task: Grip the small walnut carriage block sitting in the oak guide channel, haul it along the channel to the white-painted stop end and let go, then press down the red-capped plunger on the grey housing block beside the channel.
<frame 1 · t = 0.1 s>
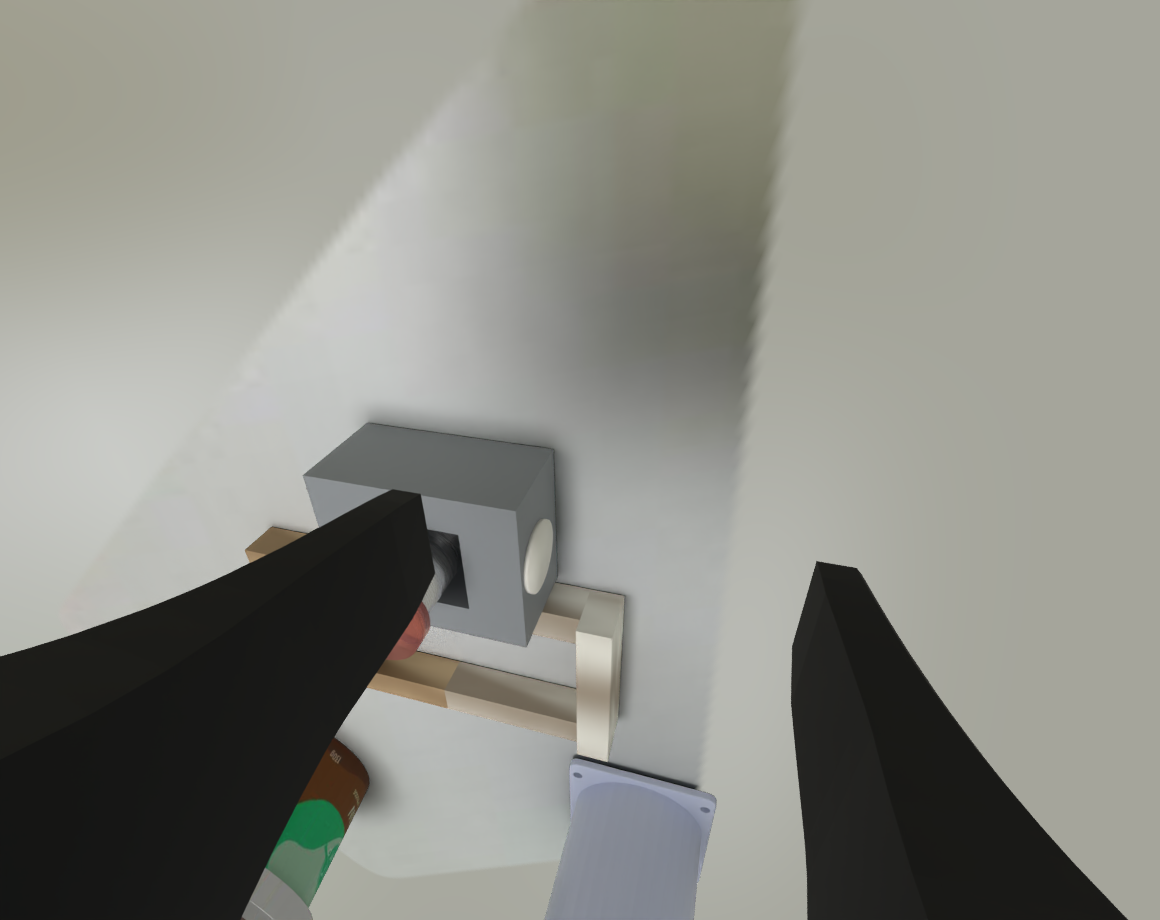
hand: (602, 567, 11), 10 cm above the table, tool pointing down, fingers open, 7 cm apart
plunger: (410, 575, 21), point 5 cm above the table, slide at 0.0 cm
channel: (410, 615, 30), on the table
grey housing block: (465, 502, 24), on the table
food container: (347, 769, 42), on the table
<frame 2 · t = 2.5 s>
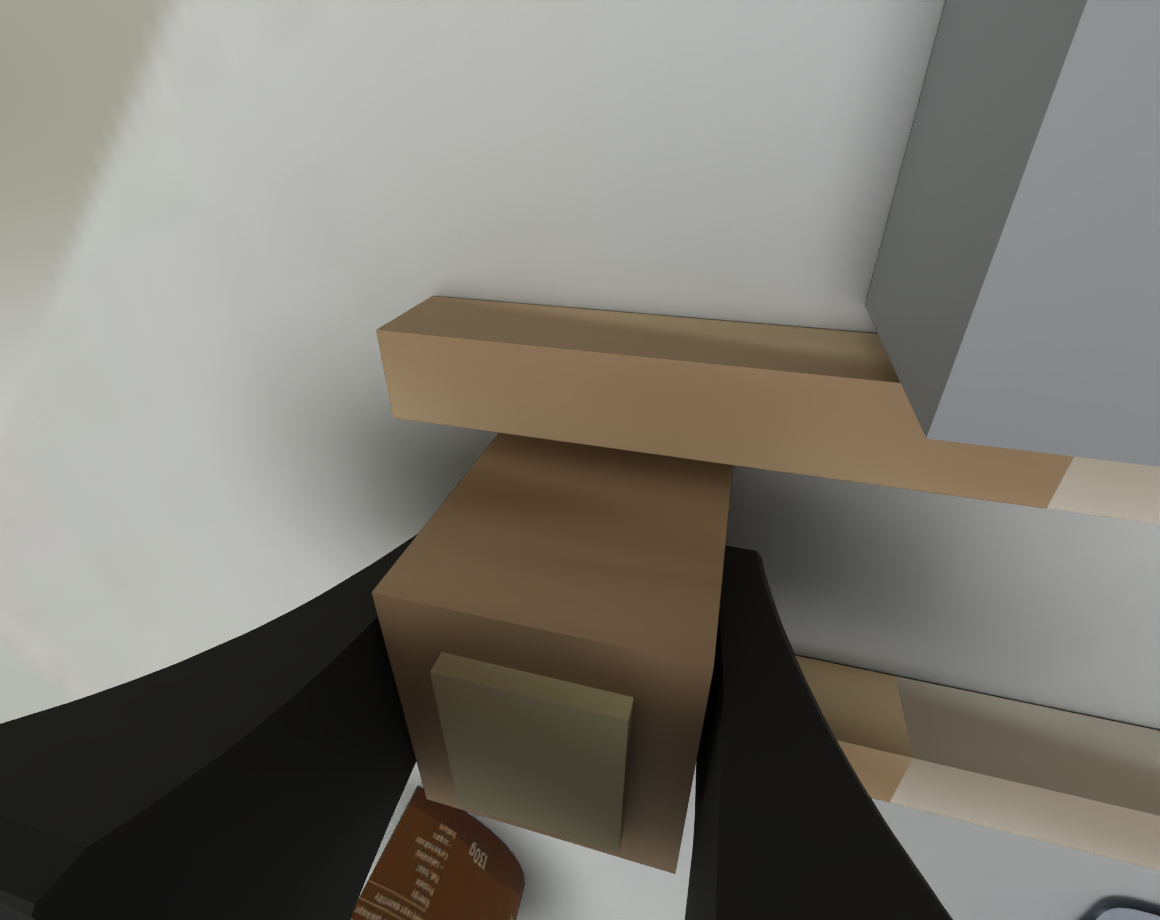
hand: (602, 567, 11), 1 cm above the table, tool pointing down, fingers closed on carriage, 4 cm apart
channel: (799, 551, 11), on the table
carriage: (618, 520, 12), resting in channel, touching gripper
food container: (480, 866, 23), on the table
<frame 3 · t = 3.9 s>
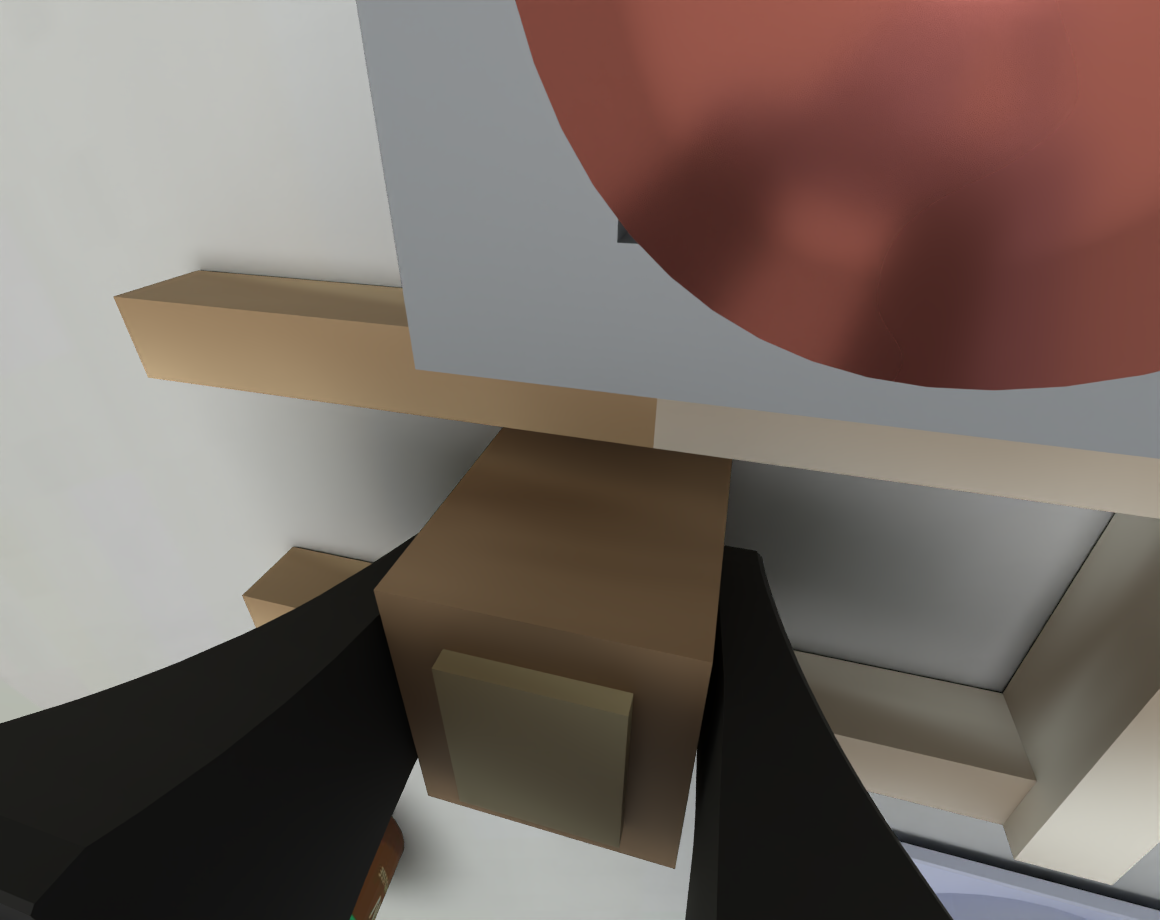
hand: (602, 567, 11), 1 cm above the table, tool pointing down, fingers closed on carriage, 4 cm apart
channel: (543, 503, 12), on the table
grey housing block: (839, 25, 7), on the table
carriage: (618, 519, 12), resting in channel, touching gripper
food container: (365, 825, 24), on the table
when the fingers open (2 cm above the table, at t = 5.4 s): carriage stays where it is, resting in channel.
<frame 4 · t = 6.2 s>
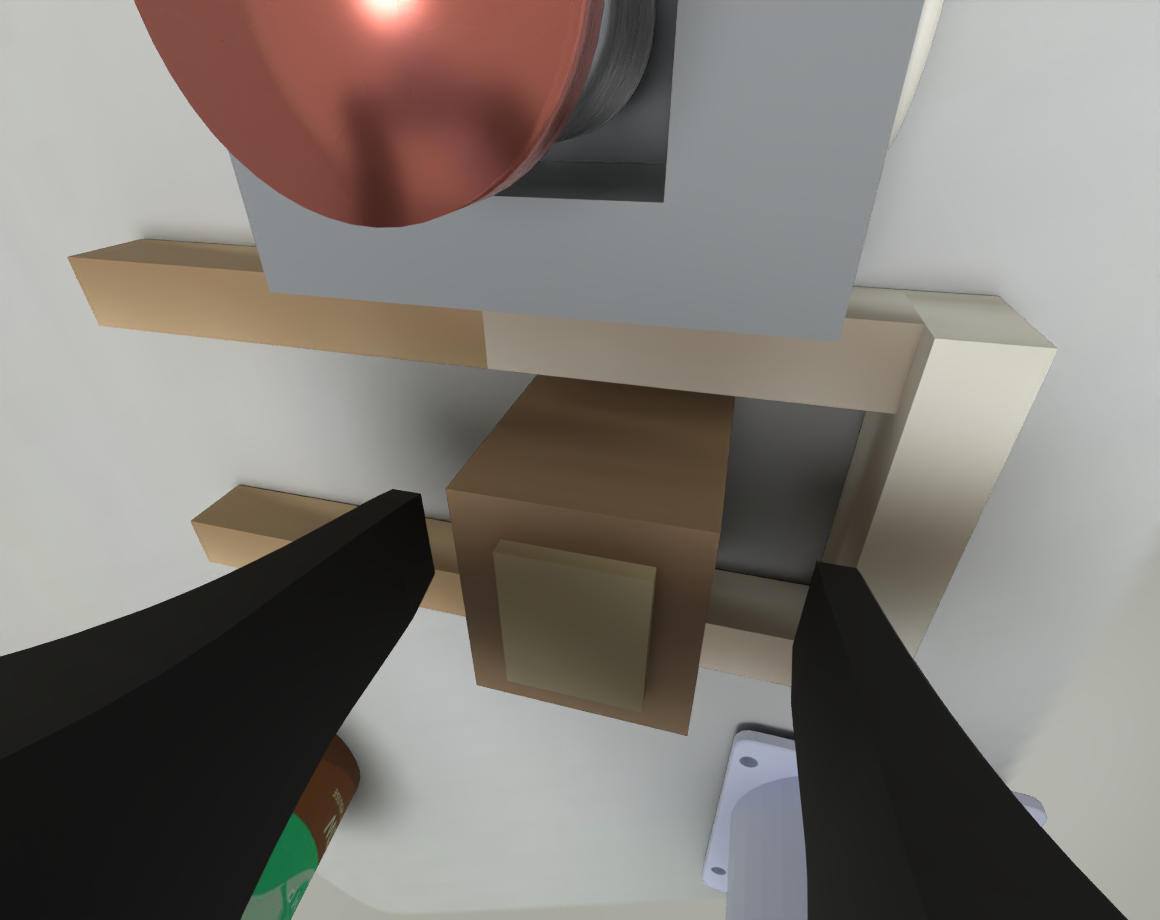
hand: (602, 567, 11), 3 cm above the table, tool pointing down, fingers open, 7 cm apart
plunger: (481, 1, 6), point 5 cm above the table, slide at 0.0 cm
channel: (436, 434, 14), on the table
grey housing block: (595, 36, 9), on the table
carriage: (634, 461, 13), resting in channel
food container: (325, 757, 26), on the table
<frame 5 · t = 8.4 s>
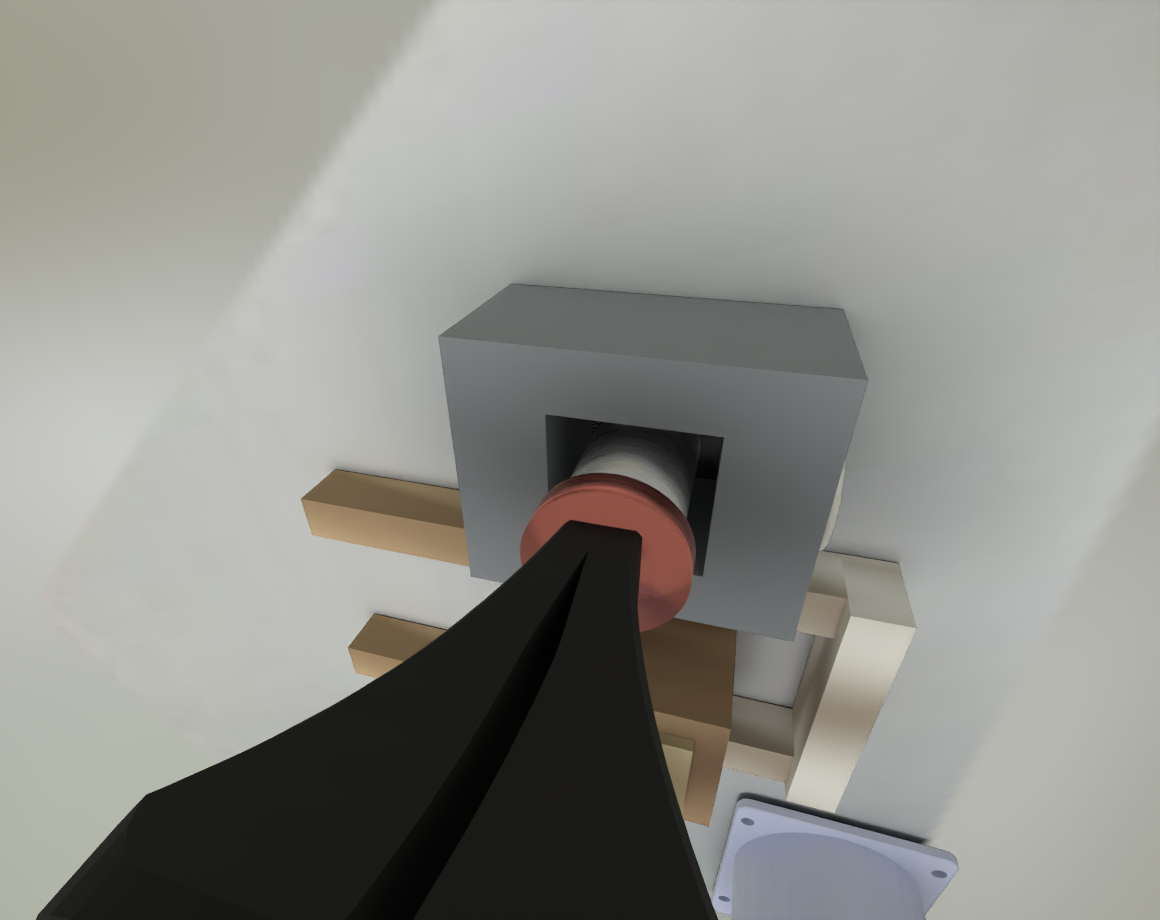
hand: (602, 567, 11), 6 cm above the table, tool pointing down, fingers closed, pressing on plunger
plunger: (628, 496, 13), point 4 cm above the table, slide at 0.7 cm, touching gripper
channel: (530, 598, 21), on the table
grey housing block: (656, 415, 16), on the table
carriage: (669, 625, 20), resting in channel
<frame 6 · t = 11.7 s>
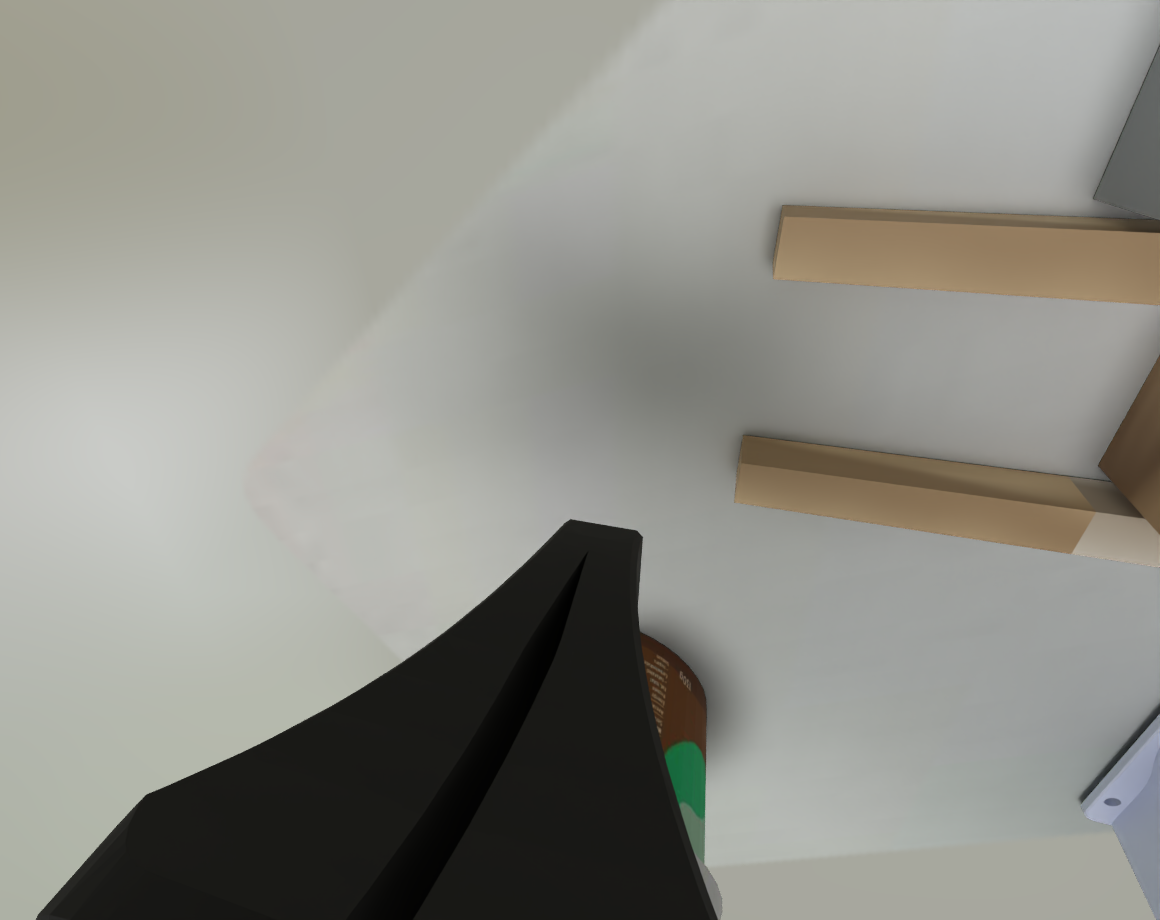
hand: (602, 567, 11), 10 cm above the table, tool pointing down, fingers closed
channel: (1014, 381, 16), on the table
food container: (663, 708, 28), on the table
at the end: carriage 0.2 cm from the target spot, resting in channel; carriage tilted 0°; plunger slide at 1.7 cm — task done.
